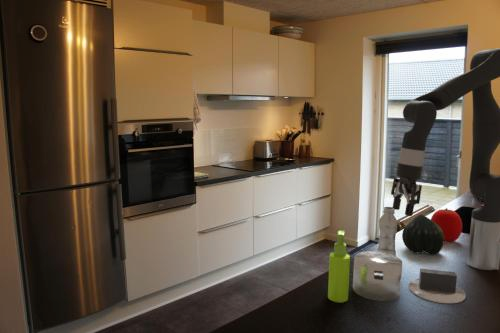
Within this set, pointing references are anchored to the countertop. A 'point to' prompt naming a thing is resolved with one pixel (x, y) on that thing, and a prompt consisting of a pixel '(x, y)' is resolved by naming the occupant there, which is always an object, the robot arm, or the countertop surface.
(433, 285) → the cooker lid
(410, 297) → the countertop surface
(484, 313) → the countertop surface
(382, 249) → the plastic bottle
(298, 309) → the countertop surface
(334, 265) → the soap dispenser
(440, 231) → the squash
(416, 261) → the countertop surface
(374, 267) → the cooker pot
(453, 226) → the tomato
